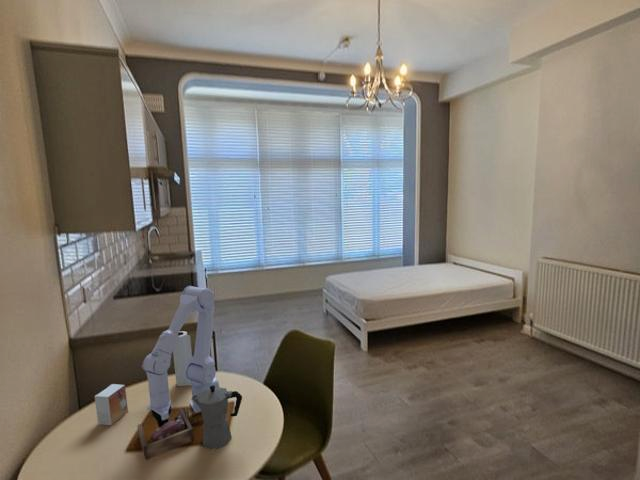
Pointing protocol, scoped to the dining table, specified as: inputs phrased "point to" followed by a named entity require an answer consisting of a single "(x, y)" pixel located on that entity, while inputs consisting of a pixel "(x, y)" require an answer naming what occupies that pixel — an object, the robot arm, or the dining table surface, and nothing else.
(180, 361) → the paper towel roll
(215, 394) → the coffeepot
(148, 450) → the box
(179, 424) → the video game controller
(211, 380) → the robot arm
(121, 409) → the small box
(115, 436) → the dining table surface
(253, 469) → the dining table surface
